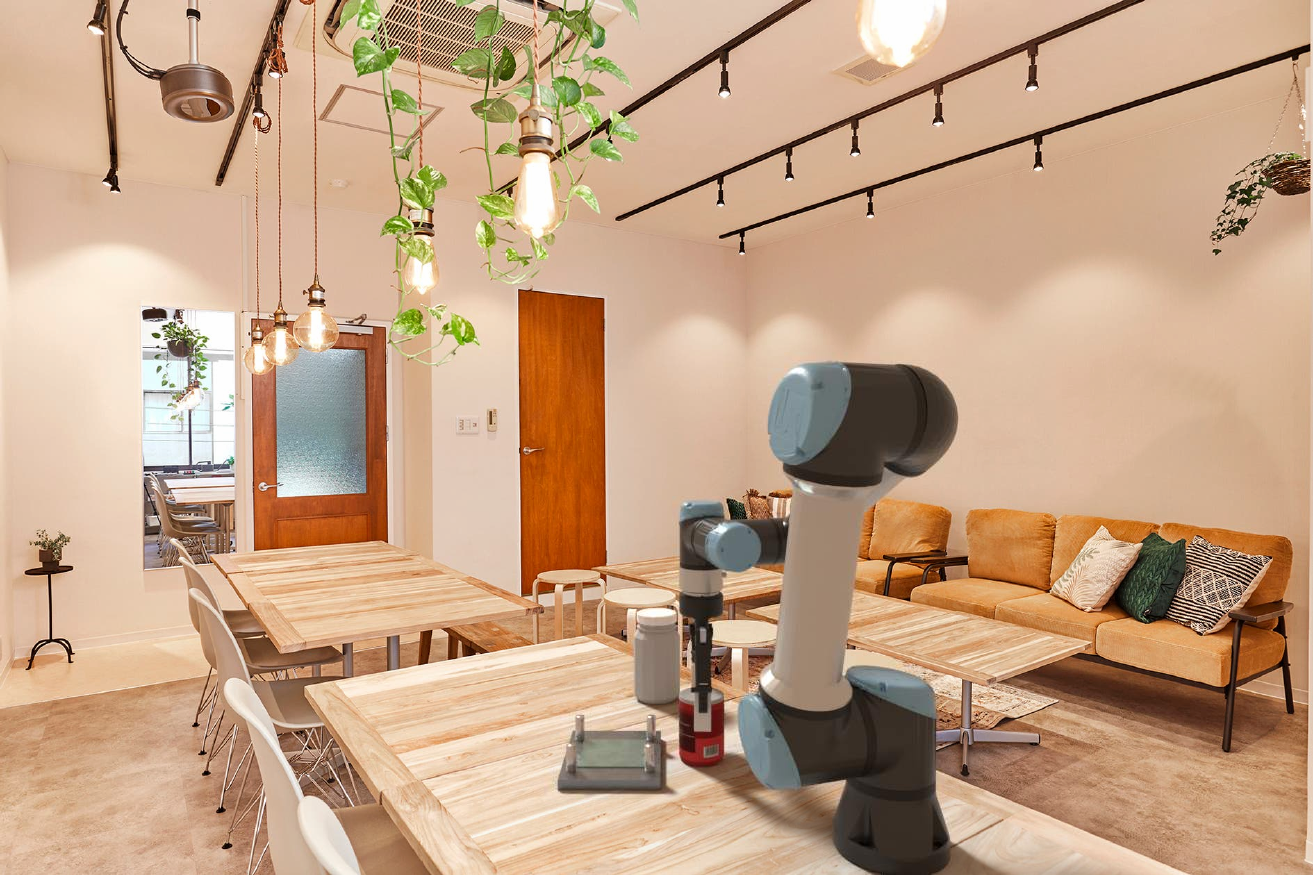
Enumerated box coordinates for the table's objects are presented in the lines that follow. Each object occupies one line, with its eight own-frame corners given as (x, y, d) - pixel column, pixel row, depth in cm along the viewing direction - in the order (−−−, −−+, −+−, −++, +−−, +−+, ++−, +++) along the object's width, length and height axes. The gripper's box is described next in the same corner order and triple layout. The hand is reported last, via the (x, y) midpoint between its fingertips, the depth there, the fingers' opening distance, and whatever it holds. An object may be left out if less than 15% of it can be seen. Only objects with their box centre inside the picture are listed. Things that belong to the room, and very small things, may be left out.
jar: (626, 693, 165) (626, 609, 165) (668, 687, 169) (668, 605, 168) (644, 708, 156) (643, 619, 156) (687, 701, 160) (687, 614, 159)
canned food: (730, 752, 134) (730, 689, 134) (714, 771, 127) (714, 704, 127) (689, 745, 137) (689, 683, 137) (671, 762, 130) (671, 697, 130)
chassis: (660, 789, 120) (660, 754, 120) (557, 789, 120) (557, 754, 120) (660, 738, 140) (660, 708, 140) (572, 738, 140) (572, 708, 140)
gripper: (729, 609, 119) (728, 745, 120) (718, 576, 144) (717, 689, 145) (680, 609, 120) (680, 744, 120) (678, 576, 144) (677, 688, 145)
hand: (700, 714), depth 132 cm, fingers open, 13 cm apart
